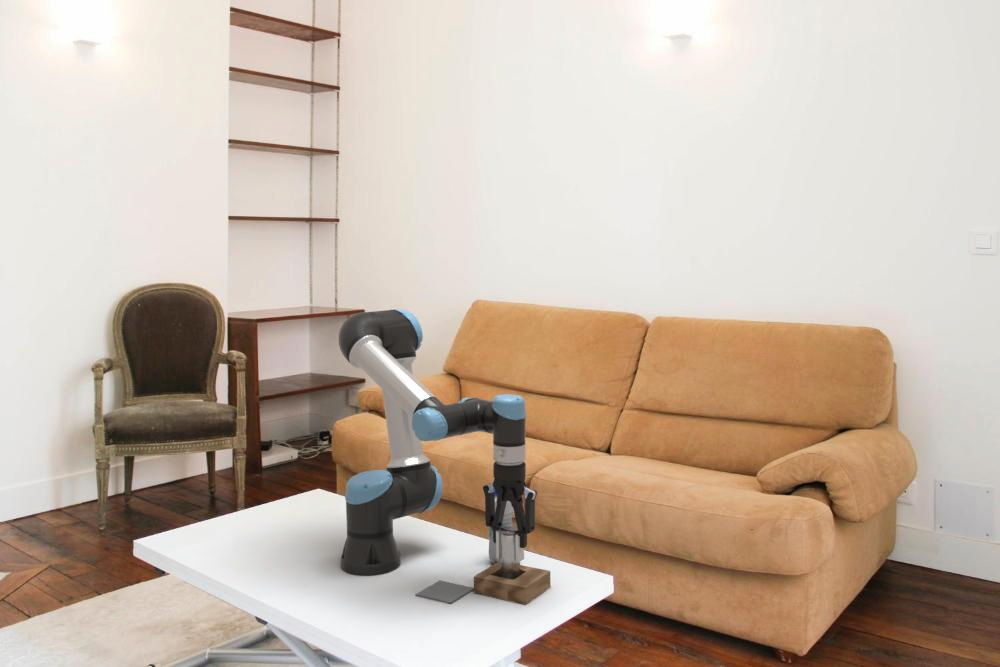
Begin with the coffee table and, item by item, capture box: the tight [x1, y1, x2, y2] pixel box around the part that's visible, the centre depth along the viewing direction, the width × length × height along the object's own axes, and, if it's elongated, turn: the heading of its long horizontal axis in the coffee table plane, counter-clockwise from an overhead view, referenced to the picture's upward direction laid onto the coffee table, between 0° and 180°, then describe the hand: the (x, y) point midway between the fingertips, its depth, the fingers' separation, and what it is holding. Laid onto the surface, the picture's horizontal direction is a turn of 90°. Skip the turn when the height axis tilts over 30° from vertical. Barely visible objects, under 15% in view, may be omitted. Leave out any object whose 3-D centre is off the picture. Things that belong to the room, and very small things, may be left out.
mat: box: [415, 580, 474, 605], centre depth 215 cm, size 10×10×1 cm
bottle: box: [488, 491, 514, 565], centre depth 234 cm, size 7×7×20 cm
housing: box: [473, 561, 551, 606], centre depth 216 cm, size 14×12×4 cm
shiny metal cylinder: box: [500, 525, 521, 580], centre depth 216 cm, size 5×5×13 cm
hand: (510, 558), depth 216 cm, fingers closed on shiny metal cylinder, 5 cm apart
